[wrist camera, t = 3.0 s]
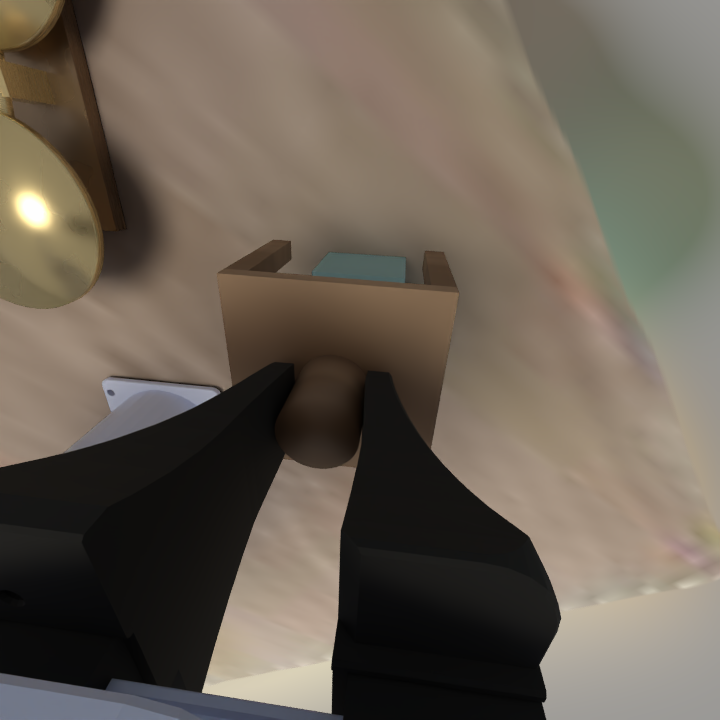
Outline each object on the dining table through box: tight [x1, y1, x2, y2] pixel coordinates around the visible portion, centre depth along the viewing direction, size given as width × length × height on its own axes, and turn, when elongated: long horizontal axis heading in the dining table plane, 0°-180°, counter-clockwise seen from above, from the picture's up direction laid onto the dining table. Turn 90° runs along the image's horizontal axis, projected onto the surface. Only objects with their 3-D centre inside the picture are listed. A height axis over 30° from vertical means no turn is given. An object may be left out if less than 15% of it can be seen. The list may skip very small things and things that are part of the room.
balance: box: [0, 0, 127, 309], centre depth 15 cm, size 18×8×5 cm, turn 177°
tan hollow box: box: [217, 240, 459, 469], centre depth 13 cm, size 7×7×7 cm
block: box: [312, 252, 406, 283], centre depth 18 cm, size 4×4×4 cm
